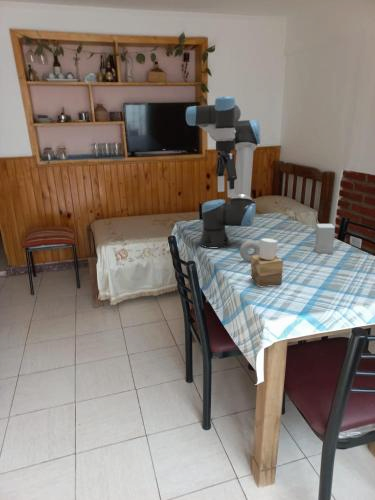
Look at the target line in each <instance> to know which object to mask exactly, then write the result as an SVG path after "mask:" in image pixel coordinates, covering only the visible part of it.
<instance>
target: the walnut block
mask: <svg viewBox="0 0 375 500" xmlns="http://www.w3.org/2000/svg"><path fill="white" fill-rule="evenodd" d="M250 268H251V267H250ZM250 273H251V274H250V278H251V277H252V279H253V280H254V281H255V282H256V283H257V284H258V285H259V286H268V285H275V286H281V285H280V284H282V283H283V282H282V281H283V272H282V273H278V274H271V275H265V276H260V275H259V274H258V273H257V272H255V271H254V270H253V269H252V268H251V270H250ZM252 279H251V280H252ZM253 280H252V281H253ZM254 281H253V282H254ZM255 282H254V283H255ZM256 283H255V284H256ZM257 284H256V285H257ZM258 285H257V286H258ZM259 286H258V287H259ZM268 287H269V286H268Z"/></svg>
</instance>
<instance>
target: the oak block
mask: <svg viewBox="0 0 375 500" xmlns="http://www.w3.org/2000/svg"><path fill="white" fill-rule="evenodd" d="M259 256H260V255H255V256H251V261H250V268H252V269H253V270H254V271H255V272H257V273H258V274H259V275H260V276H265V275H271V274H278V273H282V274H283V268H284V267H283V266H284V260H282V259H281V258H280V257H279V256H276V255H275V257H274V259H272V260H267V259H262V258H260V257H259Z"/></svg>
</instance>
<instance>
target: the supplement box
mask: <svg viewBox="0 0 375 500" xmlns="http://www.w3.org/2000/svg"><path fill="white" fill-rule="evenodd" d="M315 227H316V228H315V240H314V250H315V252H316V253H318V254H333V251H334V244H335V241H334V240H335V230H336V227H335V226H334V224H333V223H316V226H315Z"/></svg>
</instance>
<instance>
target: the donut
mask: <svg viewBox="0 0 375 500" xmlns="http://www.w3.org/2000/svg"><path fill="white" fill-rule="evenodd" d="M251 248H252V249H253V252H252V253H251V254H250V253H248V250H249V249H251ZM239 255H240V257H241V259H243V260H244V261H245V262H251V256H255V255H260V242H258V241H256V240H252V239H249V240H246V241H245V242H243V243H242V244H241V246H240V248H239Z"/></svg>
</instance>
